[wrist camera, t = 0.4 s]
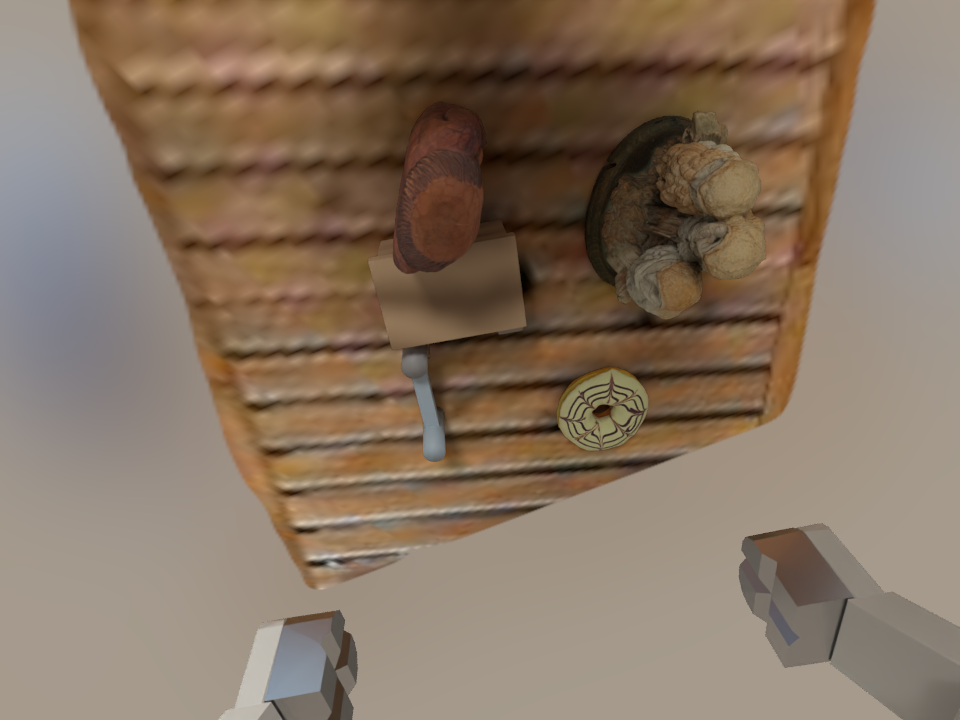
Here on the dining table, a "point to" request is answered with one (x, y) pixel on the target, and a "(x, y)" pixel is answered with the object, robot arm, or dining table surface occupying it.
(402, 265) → the wooden figurine
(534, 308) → the dining table surface
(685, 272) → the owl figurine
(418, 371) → the lever handle with knob
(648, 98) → the dining table surface
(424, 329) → the tan boxy piece
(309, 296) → the dining table surface
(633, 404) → the decorated donut
